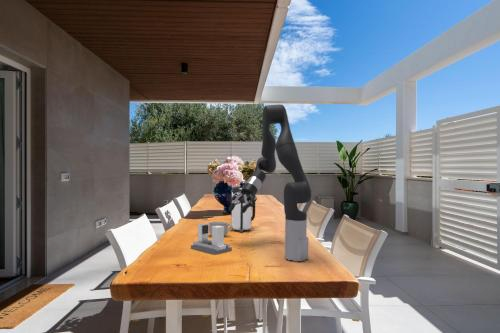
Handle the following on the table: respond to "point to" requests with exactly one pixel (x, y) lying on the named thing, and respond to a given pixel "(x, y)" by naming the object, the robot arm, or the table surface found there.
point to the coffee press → (238, 218)
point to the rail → (207, 242)
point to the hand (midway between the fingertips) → (236, 211)
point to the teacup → (224, 224)
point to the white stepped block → (218, 237)
